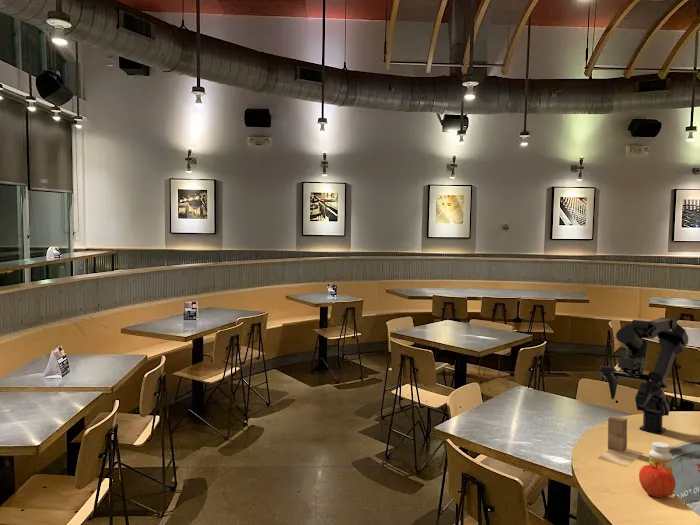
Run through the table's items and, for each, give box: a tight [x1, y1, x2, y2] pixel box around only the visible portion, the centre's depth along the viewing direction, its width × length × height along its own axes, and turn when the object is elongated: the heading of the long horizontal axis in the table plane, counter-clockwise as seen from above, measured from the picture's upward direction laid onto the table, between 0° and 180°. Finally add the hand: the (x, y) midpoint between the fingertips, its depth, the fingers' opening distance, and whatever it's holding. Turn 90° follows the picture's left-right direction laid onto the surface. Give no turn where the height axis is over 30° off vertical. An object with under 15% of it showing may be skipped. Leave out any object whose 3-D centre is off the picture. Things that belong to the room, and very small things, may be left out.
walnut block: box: [607, 415, 628, 455], centre depth 157 cm, size 4×4×10 cm
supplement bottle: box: [648, 441, 674, 474], centre depth 139 cm, size 5×5×10 cm
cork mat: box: [597, 448, 644, 467], centre depth 154 cm, size 14×8×1 cm, turn 133°
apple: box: [638, 463, 676, 498], centre depth 130 cm, size 8×8×8 cm
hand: (627, 401), depth 162 cm, fingers open, 9 cm apart
